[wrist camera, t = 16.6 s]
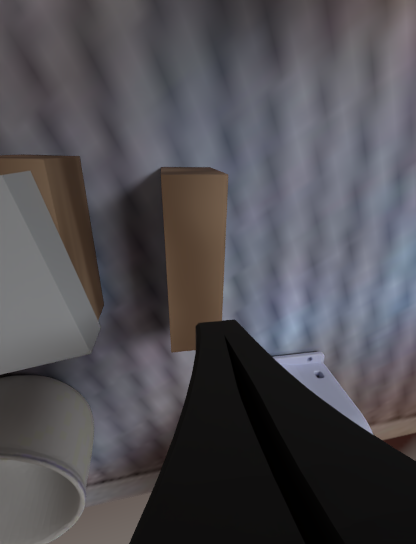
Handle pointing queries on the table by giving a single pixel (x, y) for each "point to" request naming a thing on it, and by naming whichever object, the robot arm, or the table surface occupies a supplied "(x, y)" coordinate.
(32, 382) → the teacup
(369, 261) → the table surface
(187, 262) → the block
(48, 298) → the slab
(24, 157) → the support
